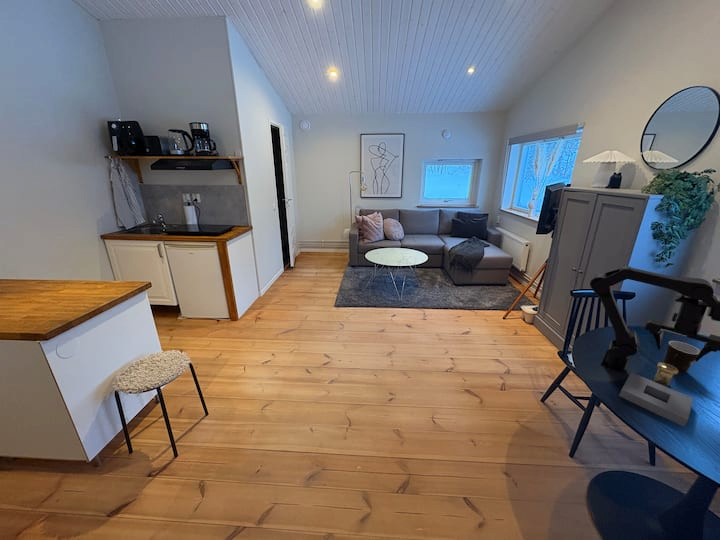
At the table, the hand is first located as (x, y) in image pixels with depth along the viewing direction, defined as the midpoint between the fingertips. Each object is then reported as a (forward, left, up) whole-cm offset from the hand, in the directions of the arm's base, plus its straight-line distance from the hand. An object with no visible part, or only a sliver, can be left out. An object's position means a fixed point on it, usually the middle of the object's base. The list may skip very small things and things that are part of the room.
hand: (676, 354), depth 103 cm
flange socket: (-1, -14, -13) cm, 19 cm away
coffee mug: (0, +14, -13) cm, 19 cm away
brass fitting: (-1, 0, -13) cm, 13 cm away
